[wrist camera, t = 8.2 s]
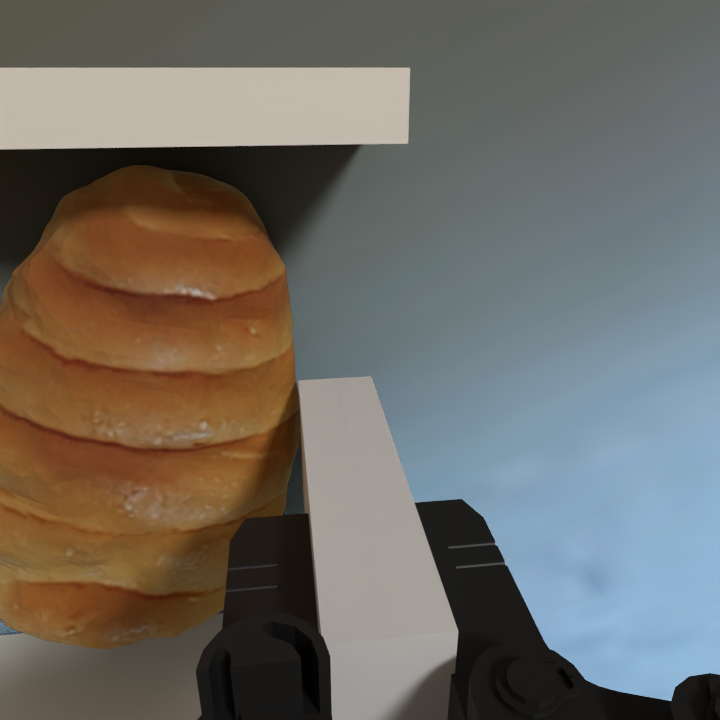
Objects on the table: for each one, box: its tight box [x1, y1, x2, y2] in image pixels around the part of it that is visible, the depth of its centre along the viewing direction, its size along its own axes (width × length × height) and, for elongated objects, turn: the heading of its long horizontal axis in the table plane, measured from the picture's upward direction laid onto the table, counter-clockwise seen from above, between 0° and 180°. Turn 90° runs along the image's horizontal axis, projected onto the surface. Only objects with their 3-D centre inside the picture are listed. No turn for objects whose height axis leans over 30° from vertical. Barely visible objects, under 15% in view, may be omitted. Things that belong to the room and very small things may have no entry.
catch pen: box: [0, 68, 410, 720], centre depth 12 cm, size 14×13×4 cm
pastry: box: [0, 165, 301, 650], centre depth 12 cm, size 9×7×4 cm
